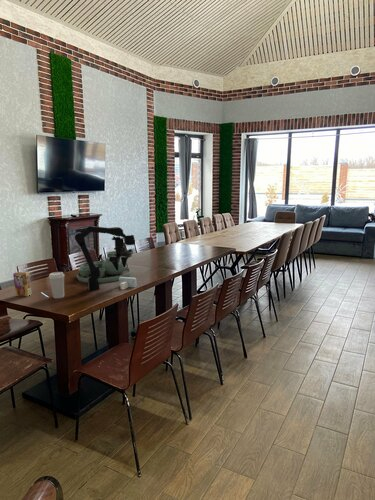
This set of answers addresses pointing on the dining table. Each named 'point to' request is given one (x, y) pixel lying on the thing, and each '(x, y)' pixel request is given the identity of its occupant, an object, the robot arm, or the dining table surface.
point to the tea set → (104, 270)
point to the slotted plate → (131, 281)
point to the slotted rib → (124, 285)
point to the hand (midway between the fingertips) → (121, 268)
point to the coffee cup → (57, 284)
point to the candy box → (22, 283)
